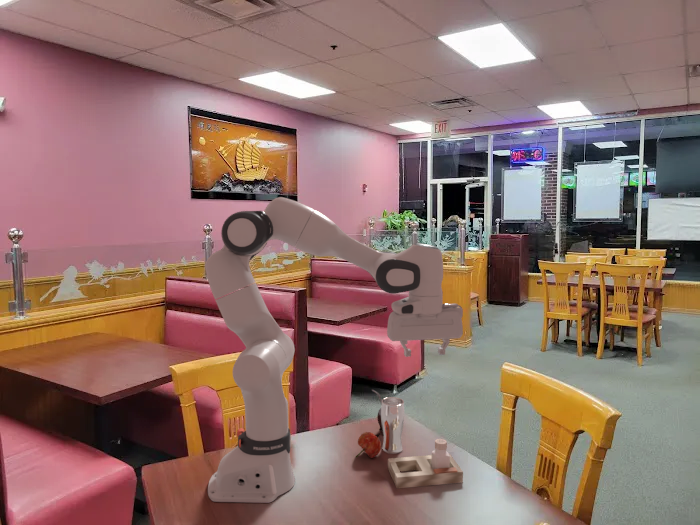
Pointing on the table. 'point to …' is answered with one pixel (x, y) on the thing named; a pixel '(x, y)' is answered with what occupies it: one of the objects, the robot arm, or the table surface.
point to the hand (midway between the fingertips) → (424, 355)
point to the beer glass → (392, 424)
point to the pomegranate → (370, 444)
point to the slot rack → (422, 472)
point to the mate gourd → (379, 413)
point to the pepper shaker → (440, 455)
